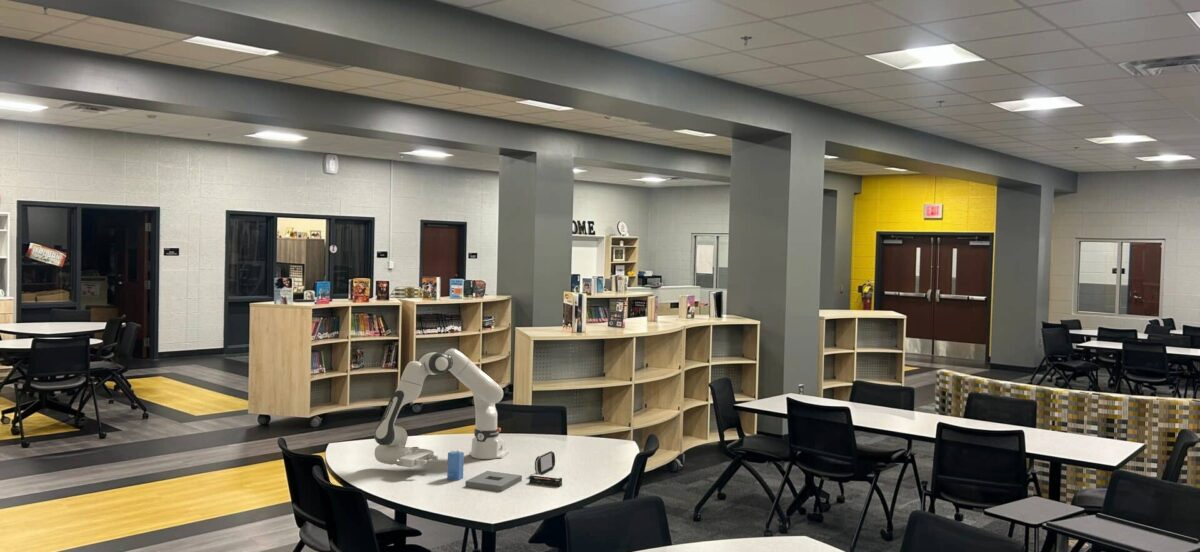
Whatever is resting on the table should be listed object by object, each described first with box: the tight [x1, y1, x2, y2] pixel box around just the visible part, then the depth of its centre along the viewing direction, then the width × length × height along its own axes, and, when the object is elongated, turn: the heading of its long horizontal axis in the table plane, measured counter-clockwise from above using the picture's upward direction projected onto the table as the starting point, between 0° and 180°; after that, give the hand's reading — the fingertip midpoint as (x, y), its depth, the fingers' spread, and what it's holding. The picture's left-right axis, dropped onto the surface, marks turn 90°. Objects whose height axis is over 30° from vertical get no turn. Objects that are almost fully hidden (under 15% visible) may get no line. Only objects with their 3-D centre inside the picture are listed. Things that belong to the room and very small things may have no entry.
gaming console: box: [534, 450, 556, 475], centre depth 397 cm, size 19×9×2 cm
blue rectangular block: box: [446, 449, 465, 481], centre depth 381 cm, size 10×6×13 cm, turn 160°
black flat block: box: [528, 473, 563, 488], centre depth 374 cm, size 14×25×4 cm, turn 71°
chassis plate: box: [465, 470, 523, 493], centre depth 374 cm, size 20×18×2 cm
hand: (431, 460), depth 385 cm, fingers open, 8 cm apart
